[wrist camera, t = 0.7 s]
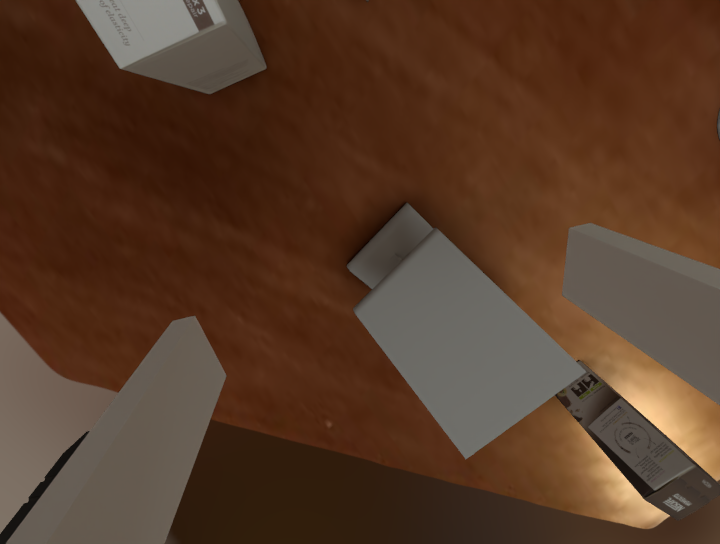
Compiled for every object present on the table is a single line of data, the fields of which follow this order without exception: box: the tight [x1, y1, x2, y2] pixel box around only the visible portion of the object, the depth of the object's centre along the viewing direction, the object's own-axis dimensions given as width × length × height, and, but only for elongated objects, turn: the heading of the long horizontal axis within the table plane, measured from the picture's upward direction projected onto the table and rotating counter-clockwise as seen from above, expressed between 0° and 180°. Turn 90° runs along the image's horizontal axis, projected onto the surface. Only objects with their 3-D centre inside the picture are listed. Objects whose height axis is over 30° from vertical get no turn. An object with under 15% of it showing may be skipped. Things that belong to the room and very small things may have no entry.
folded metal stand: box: [347, 203, 586, 459], centre depth 29 cm, size 18×10×20 cm, turn 47°
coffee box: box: [555, 361, 720, 520], centre depth 41 cm, size 9×6×16 cm
